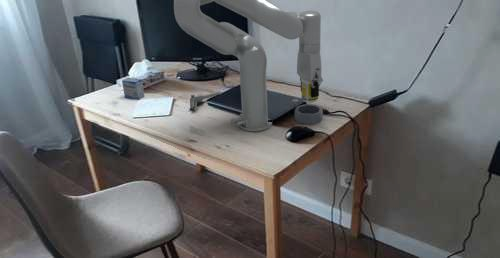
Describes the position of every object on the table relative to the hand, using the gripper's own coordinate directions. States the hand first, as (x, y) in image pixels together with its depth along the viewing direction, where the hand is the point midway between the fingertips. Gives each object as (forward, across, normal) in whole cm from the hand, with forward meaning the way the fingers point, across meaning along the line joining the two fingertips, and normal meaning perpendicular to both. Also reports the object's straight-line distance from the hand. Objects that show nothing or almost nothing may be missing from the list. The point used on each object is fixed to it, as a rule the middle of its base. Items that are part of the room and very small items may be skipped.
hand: (309, 93), depth 158 cm
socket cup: (+11, 0, 0) cm, 11 cm away
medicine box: (+10, -60, -55) cm, 82 cm away
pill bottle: (+3, 0, 0) cm, 3 cm away
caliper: (+11, -38, -28) cm, 49 cm away
